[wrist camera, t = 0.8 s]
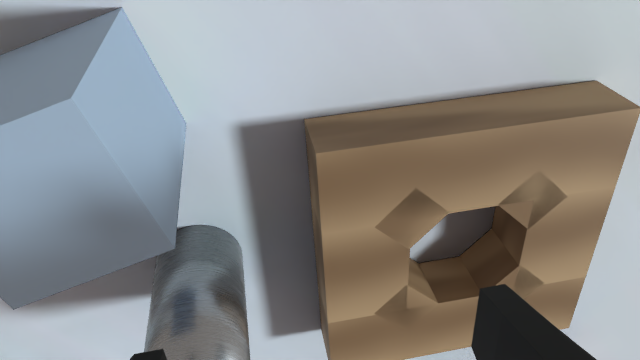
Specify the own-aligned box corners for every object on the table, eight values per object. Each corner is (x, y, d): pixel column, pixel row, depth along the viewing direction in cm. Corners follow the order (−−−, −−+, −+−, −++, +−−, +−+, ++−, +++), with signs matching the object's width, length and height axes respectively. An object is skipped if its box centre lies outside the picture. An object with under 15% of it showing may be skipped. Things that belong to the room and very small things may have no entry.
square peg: (186, 123, 18) (175, 248, 13) (75, 165, 18) (13, 309, 13) (122, 7, 16) (70, 97, 10) (-7, 57, 16) (-129, 175, 10)
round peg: (247, 280, 23) (259, 425, 17) (167, 294, 23) (152, 446, 17) (235, 219, 21) (245, 358, 15) (147, 232, 21) (122, 381, 15)
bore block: (540, 289, 27) (568, 327, 25) (321, 329, 26) (331, 373, 24) (596, 80, 20) (641, 107, 18) (304, 119, 19) (315, 153, 17)
